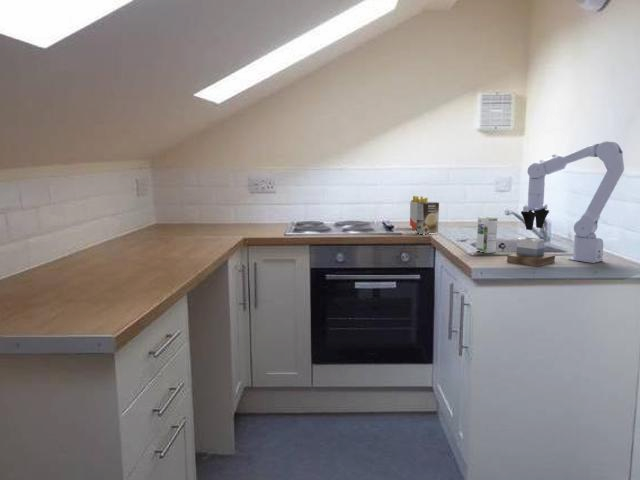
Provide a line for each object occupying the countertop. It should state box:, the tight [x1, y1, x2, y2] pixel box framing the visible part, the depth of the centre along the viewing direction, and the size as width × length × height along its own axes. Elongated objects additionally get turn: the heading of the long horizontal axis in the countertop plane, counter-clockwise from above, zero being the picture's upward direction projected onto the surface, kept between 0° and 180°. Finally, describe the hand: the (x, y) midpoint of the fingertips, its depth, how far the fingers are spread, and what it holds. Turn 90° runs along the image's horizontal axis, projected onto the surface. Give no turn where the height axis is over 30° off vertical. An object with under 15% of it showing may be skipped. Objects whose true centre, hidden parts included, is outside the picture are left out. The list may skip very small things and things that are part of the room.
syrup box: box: [476, 215, 498, 254], centre depth 218 cm, size 6×6×14 cm
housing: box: [516, 236, 545, 258], centre depth 197 cm, size 8×5×6 cm, turn 39°
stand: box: [506, 253, 556, 267], centre depth 197 cm, size 12×12×2 cm
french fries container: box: [409, 195, 429, 230], centre depth 285 cm, size 5×11×18 cm, turn 41°
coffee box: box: [415, 201, 440, 235], centre depth 269 cm, size 9×6×16 cm
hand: (534, 228), depth 210 cm, fingers open, 7 cm apart
